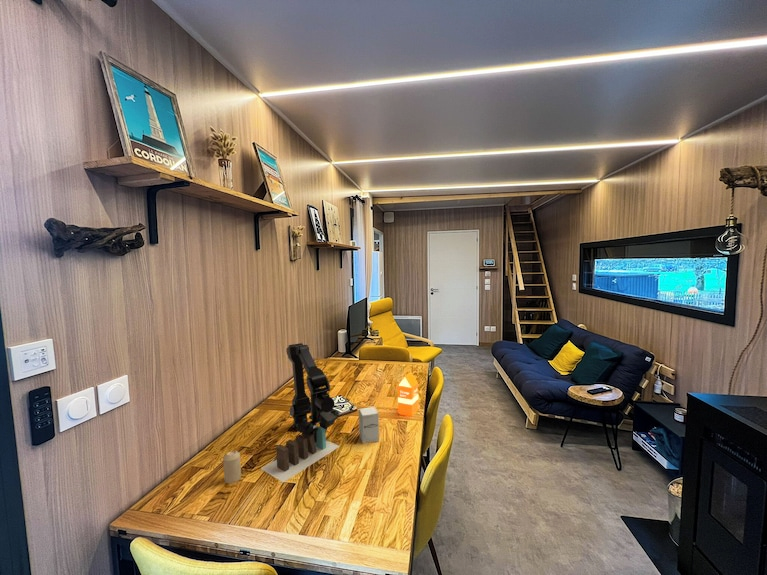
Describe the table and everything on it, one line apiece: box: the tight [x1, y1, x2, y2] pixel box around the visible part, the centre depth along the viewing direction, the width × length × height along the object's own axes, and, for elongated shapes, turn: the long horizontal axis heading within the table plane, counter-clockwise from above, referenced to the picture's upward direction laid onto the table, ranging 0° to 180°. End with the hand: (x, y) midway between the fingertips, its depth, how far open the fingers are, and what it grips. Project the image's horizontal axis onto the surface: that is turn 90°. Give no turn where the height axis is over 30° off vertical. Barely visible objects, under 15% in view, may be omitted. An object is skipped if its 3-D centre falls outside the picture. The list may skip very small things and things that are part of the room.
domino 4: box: [301, 433, 317, 454], centre depth 131 cm, size 2×5×8 cm, turn 53°
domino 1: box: [275, 444, 289, 472], centre depth 121 cm, size 2×5×8 cm, turn 53°
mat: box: [260, 439, 341, 483], centre depth 128 cm, size 14×28×1 cm, turn 143°
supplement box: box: [358, 406, 380, 444], centre depth 141 cm, size 7×7×13 cm
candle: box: [222, 449, 242, 485], centre depth 116 cm, size 6×6×10 cm
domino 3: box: [295, 434, 308, 460], centre depth 128 cm, size 2×5×8 cm, turn 53°
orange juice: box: [397, 371, 420, 417], centre depth 166 cm, size 8×9×20 cm
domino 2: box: [285, 439, 299, 465], centre depth 125 cm, size 2×5×8 cm, turn 53°
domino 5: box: [315, 425, 327, 450], centre depth 135 cm, size 2×5×8 cm, turn 53°
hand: (319, 440), depth 135 cm, fingers open, 4 cm apart
